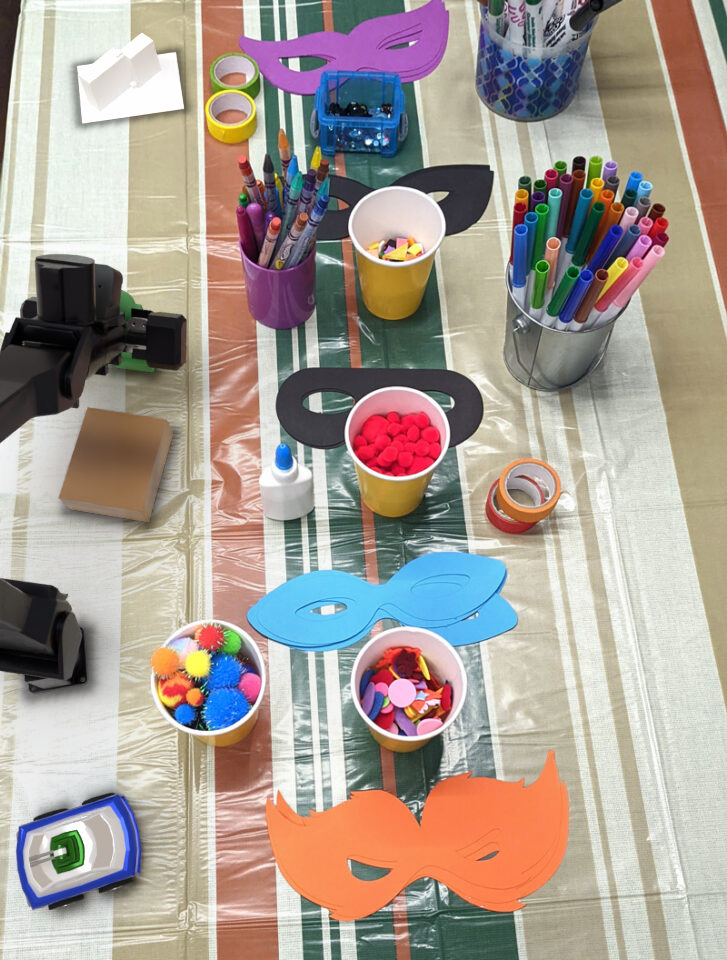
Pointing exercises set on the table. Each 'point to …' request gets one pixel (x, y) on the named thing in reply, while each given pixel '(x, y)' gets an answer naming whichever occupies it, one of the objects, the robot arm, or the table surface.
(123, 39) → the table surface
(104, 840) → the toy car
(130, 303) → the toy pawn
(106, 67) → the napkin holder
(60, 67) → the table surface
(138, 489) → the oak block
